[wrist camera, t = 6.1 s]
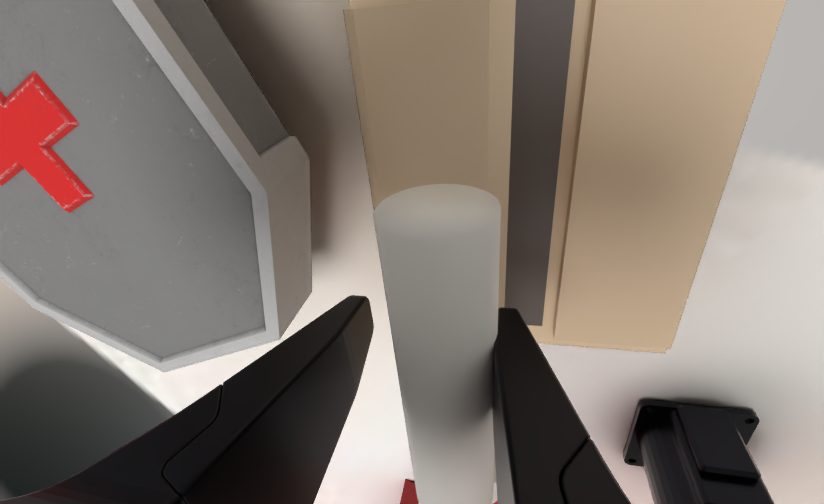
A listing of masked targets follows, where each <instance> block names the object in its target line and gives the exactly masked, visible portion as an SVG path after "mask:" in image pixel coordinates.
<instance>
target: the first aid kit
mask: <svg viewBox="0 0 824 504" xmlns="http://www.w3.org/2000/svg"><path fill="white" fill-rule="evenodd" d="M0 278H1V279H2V280H3V281H4V282H5V283H6V284H7V285H8V286H9V287H11V288H12V289H13V290H14V291H15V292H16V293H17V294H18V295H19V296H21V297H22V298H23V299H24V300H25V301H26V302H27V303H28V304H30V305H31V306H32V307H33V308H34V309H36V310H39V311H40V312H43V313H45V314H47V315H49V316H51V317H53V318H55V319H57V320H59V321H61V322H63V323H65V324H67V325H69V326H71V327H73V328H75V329H77V330H79V331H81V332H83V333H85V334H87V335H89V336H91V337H93V338H95V339H97V340H99V341H101V342H104V343H106V344H108V345H110V346H112V347H114V348H116V349H118V350H120V351H122V352H124V353H126V354H128V355H130V356H132V357H134V358H136V359H138V360H140V361H142V362H144V363H146V364H148V365H150V366H152V367H154V368H156V369H158V370H160V371H162V372H167V371H171V370H174V369H178V368H182V367H185V366H189V365H192V364H196V363H199V362H203V361H206V360H210V359H213V358H217V357H220V356H224V355H227V354H231V353H234V352H238V351H241V350H245V349H248V348H252V347H255V346H259V345H262V344H266V343H269V342H273V341H276V340H280V338H281V337H282V335H283V334H284V332H285V331H286V329H287V328H288V326H289V325H290V323H291V322H292V320H293V319H294V317H295V316H296V314H297V313H298V311H299V310H300V308H301V307H302V305H303V304H304V303H305V301H306V300H307V298H308V297H309V295H310V294H311V292H312V260H311V207H310V158H309V157H308V155H307V154H306V152H305V150H304V149H303V147H302V146H301V144H300V142H299V141H298V139H297V138H296V136H289V134H288V133H287V131H286V130H285V128H284V126H283V125H282V123H281V122H280V120H279V119H278V117H277V115H276V114H275V112H274V111H273V109H272V108H271V106H270V104H269V103H268V101H267V100H266V98H265V96H264V95H263V93H262V92H261V90H260V89H259V87H258V85H257V84H256V82H255V81H254V79H253V78H252V76H251V74H250V73H249V71H248V70H247V68H246V66H245V65H244V63H243V62H242V60H241V59H240V57H239V55H238V54H237V52H236V51H235V49H234V48H233V46H232V44H231V43H230V41H229V40H228V38H227V36H226V35H225V33H224V32H223V30H222V29H221V27H220V25H219V24H218V22H217V21H216V19H215V17H214V16H213V14H212V13H211V11H210V10H209V8H208V6H207V5H206V3H205V2H204V0H0Z"/></svg>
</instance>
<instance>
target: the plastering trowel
mask: <svg viewBox="0 0 824 504" xmlns="http://www.w3.org/2000/svg"><path fill="white" fill-rule="evenodd" d="M515 9H516V0H435V1H426V2H417V3H407V4H398V5H389V6H380V7H371V8H361V9H352V10H343V13H344V20H345V26H346V33H347V39H348V46H349V52H350V59H351V65H352V72H353V78H354V85H355V91H356V98H357V104H358V111H359V117H360V124H361V130H362V137H363V143H364V150H365V156H366V163H367V169H368V176H369V182H370V189H371V195H372V202H373V208H374V224H375V230H376V237H377V243H378V249H379V256H380V262H381V269H382V275H383V282H384V288H385V294H386V301H387V307H388V314H389V320H390V326H391V333H392V339H393V346H394V352H395V359H396V365H397V371H398V378H399V384H400V391H401V397H402V404H403V410H404V416H405V423H406V429H407V436H408V442H409V448H410V455H411V461H412V468H413V474H414V481H415V487H416V493H417V498H418V501H419V504H493V503H495V502H496V501H497V484H496V468H495V451H494V435H493V414H492V406H493V370H494V343H495V340H496V337H497V334H498V308H500V307H505V282H506V255H507V227H508V200H509V173H510V146H511V118H512V91H513V64H514V37H515Z"/></svg>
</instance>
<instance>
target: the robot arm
mask: <svg viewBox="0 0 824 504" xmlns="http://www.w3.org/2000/svg"><path fill="white" fill-rule="evenodd" d="M373 327H374V326H373V318H372V313H371V307H370V302H369V299H368V298H367V297H365V296H355V295H352V296H349V297H347V298H346V299H344V300H343V301H341V302H340V303H338V304H337V305H335V306H334V307H333V308H331V309H330V310H328V311H327V312H325V313H324V314H322V315H321V316H319V317H318V318H317V319H315V320H314V321H312V322H311V323H309V324H308V325H306V326H305V327H303V328H302V329H301V330H299V331H298V332H296V333H295V334H293V335H292V336H290V337H289V338H287V339H286V340H285V341H283V342H282V343H280V344H279V345H277V346H276V347H274V348H273V349H271V350H270V351H269V352H267V353H266V354H264V355H263V356H261V357H260V358H258V359H257V360H256V361H254V362H253V363H251V364H250V365H248V366H247V367H245V368H244V369H242V370H241V371H240V372H238V373H237V374H235V375H234V376H232V377H231V378H229V379H228V380H226V381H225V382H224V383H223V385H219V386H218V387H216V388H215V389H213V390H212V391H210V392H209V393H207V394H206V395H204V396H203V397H201V398H200V399H198V400H197V401H195V402H194V403H192V404H191V405H189V406H188V407H186V408H185V409H183V410H182V411H180V412H179V413H177V414H175V415H174V416H172V417H171V418H169V419H167V420H166V421H164V422H162V423H161V424H159V425H158V426H156V427H154V428H153V429H151V430H150V431H148V432H146V433H144V434H143V435H141V436H139V437H138V438H136V439H134V440H133V441H131V442H129V443H128V444H126V445H124V446H123V447H121V448H119V449H117V450H116V451H114V452H112V453H111V454H109V455H107V456H106V457H104V458H102V459H101V460H99V461H97V462H96V463H94V464H92V465H91V466H89V467H87V468H85V469H84V470H82V471H80V472H79V473H77V474H75V475H73V476H71V477H70V478H68V479H66V480H64V481H62V482H59V483H57V484H55V485H53V486H51V487H48V488H45V489H43V490H40V491H37V492H34V493H31V494H27V495H24V496H20V497H16V498H11V499H6V500H2V501H0V504H313V503H314V501H315V498H316V495H317V493H318V490H319V488H320V485H321V483H322V480H323V478H324V475H325V473H326V470H327V467H328V465H329V462H330V460H331V457H332V455H333V452H334V450H335V447H336V445H337V442H338V440H339V437H340V434H341V432H342V429H343V427H344V424H345V422H346V419H347V417H348V414H349V412H350V409H351V406H352V404H353V401H354V399H355V396H356V393H357V390H358V387H359V383H360V379H361V376H362V372H363V368H364V364H365V361H366V357H367V353H368V349H369V346H370V342H371V338H372V334H373ZM492 414H493V435H494V451H495V468H496V484H497V501H498V504H631V502H630V501H629V500H628V498H627V497H626V495H625V494H624V492H623V491H622V489H621V488H620V486H619V484H618V483H617V481H616V479H615V478H614V476H613V474H612V473H611V471H610V469H609V468H608V466H607V464H606V463H605V461H604V460H603V458H602V456H601V454H600V452H599V451H598V449H597V447H596V445H595V444H594V442H593V441H592V440H590V435H589V433H588V432H587V430H586V428H585V426H584V425H583V423H582V421H581V419H580V418H579V416H578V414H577V412H576V411H575V409H574V407H573V405H572V404H571V402H570V400H569V398H568V396H567V395H566V393H565V391H564V389H563V388H562V386H561V384H560V382H559V381H558V379H557V377H556V375H555V374H554V372H553V370H552V368H551V366H550V365H549V363H548V361H547V359H546V358H545V356H544V354H543V352H542V351H541V349H540V347H539V345H538V344H537V342H536V340H535V338H534V337H533V335H532V333H531V331H530V329H529V328H528V326H527V324H526V322H525V321H524V319H523V317H522V315H521V314H520V312H519V310H518V309H516V308H505V307H500V308H498V334H497V337H496V340H495V343H494V370H493V406H492ZM758 423H759V418H758V417H757V415H756V413H755V412H753V411H751V410H743V409H733V408H723V407H714V406H704V405H694V404H685V403H675V402H665V401H655V400H643V401H641V402H640V403H639V404H638V407H637V411H636V414H635V417H634V421H633V424H632V427H631V430H630V434H629V437H628V440H627V443H626V447H625V450H624V453H623V457H624V461H625V463H627V464H629V465H635V466H643V467H644V468H645V472H646V475H647V479H648V483H649V486H650V490H651V493H652V497H653V501H654V504H774V502H773V500H772V498H771V496H770V494H769V492H768V490H767V488H766V486H765V484H764V482H763V480H762V478H761V474H760V472H759V470H758V468H757V466H756V464H755V462H754V460H753V458H752V456H751V454H750V452H749V450H748V449H747V447H746V445H747V443H748V441H749V439H750V437H751V436H752V434H753V432H754V430H755V429H756V427H757V425H758Z"/></svg>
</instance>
